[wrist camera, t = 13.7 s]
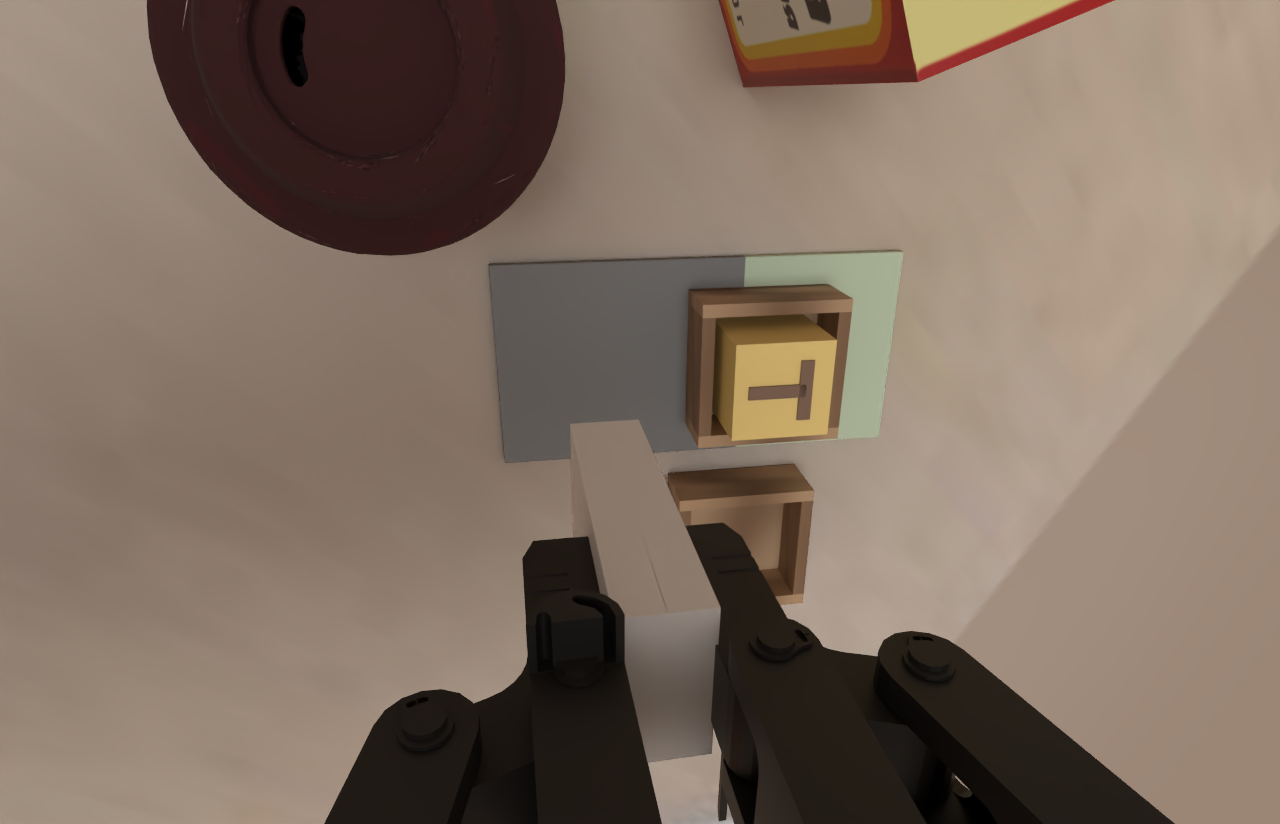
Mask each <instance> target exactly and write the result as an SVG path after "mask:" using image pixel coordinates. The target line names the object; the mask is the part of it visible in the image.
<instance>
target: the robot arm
mask: <svg viewBox="0 0 1280 824" xmlns="http://www.w3.org/2000/svg"><path fill="white" fill-rule="evenodd" d="M570 444H571V477H572V510H573V534H574V538H562V539H551V540H540V541H533V542H532V544H531V546H530V547H529V549H528V550H527V552H526V554H525V555H524V557H523V576H524V593H525V611H526V634H527V650H528V657H527V664H526V666H525V668H524V670H523V672H522V674H521V675H520V676H519V677H518V678H517V680H516V681H515V682H514V683H513V684H511V685H510V686H509V687H507V688H506V689H505V690H503V691H502V692H500V693H498V694H496V695H494V696H492V697H489V698H487V699H484V700H482V701H479V702H477V703H474V704H473V702H471V701H470V700H469V699H467V698H466V697H464V696H463V695H461V694H460V693H456V692H452V691H447V690H442V689H440V690H429V691H421V692H418V693H415V694H413V695H410V696H407V697H404V698H402V699H400V700H399V701H398V702H396V703H395V704H393V705H392V706H390V707H389V708H388V709H386V710H385V711H384V712H383V714H382V715H381V716H380V718H379V719H378V720H377V722H376V723H375V724H374V726H373V728H372V730H371V732H370V734H369V736H368V738H367V740H366V742H365V744H364V746H363V748H362V750H361V752H360V754H359V756H358V758H357V760H356V762H355V764H354V766H353V768H352V770H351V772H350V774H349V776H348V778H347V780H346V782H345V784H344V786H343V787H342V789H341V791H340V793H339V795H338V797H337V799H336V801H335V803H334V805H333V807H332V809H331V811H330V813H329V815H328V817H327V819H326V821H325V823H324V824H662V823H661V818H660V814H659V810H658V805H657V801H656V797H655V792H654V788H653V784H652V779H651V775H650V771H649V766H648V762H655V761H663V760H670V759H677V758H684V757H691V756H698V755H705V754H712V739H713V728H714V731H715V734H716V737H717V740H718V743H719V746H720V749H721V752H722V753H721V767H720V781H719V795H718V817H719V821H723V820H726V815H727V803H728V806H729V809H730V812H731V815H732V818H733V821H734V824H1174V823H1173V822H1172V821H1171V820H1170V819H1168V818H1167V817H1166V816H1165V815H1163V814H1162V813H1161V812H1160V811H1159V810H1157V809H1156V808H1155V807H1154V806H1152V805H1151V804H1150V803H1149V802H1148V801H1146V800H1145V799H1144V798H1143V797H1141V796H1140V795H1139V794H1138V793H1137V792H1136V791H1134V790H1133V789H1132V788H1131V787H1129V786H1128V785H1127V784H1126V783H1125V782H1123V781H1122V780H1121V779H1119V777H1117V776H1116V775H1115V774H1113V773H1112V772H1111V771H1110V770H1109V769H1108V768H1106V767H1105V766H1104V765H1103V764H1101V763H1100V762H1099V761H1098V760H1097V759H1095V758H1094V757H1093V756H1092V755H1091V754H1089V753H1088V752H1087V751H1085V750H1084V749H1083V748H1082V747H1081V746H1080V745H1078V744H1077V743H1076V742H1075V741H1073V740H1072V739H1071V738H1070V737H1069V736H1068V735H1066V734H1065V733H1064V732H1063V731H1061V730H1060V729H1059V728H1058V727H1056V726H1055V725H1054V724H1053V723H1052V722H1051V721H1049V720H1048V719H1047V718H1046V717H1044V716H1043V715H1042V714H1041V713H1039V712H1038V711H1037V710H1036V709H1035V708H1033V707H1032V706H1031V705H1030V704H1029V703H1027V702H1026V701H1025V700H1024V699H1022V698H1021V697H1020V696H1019V695H1018V694H1016V693H1015V692H1014V691H1013V690H1012V689H1010V688H1009V687H1008V686H1007V685H1006V684H1004V683H1003V682H1002V681H1001V680H1000V679H998V678H997V677H996V676H995V675H993V674H992V673H991V672H990V671H989V670H987V669H986V668H985V667H984V666H983V665H981V664H980V663H979V662H978V661H976V660H975V659H974V658H973V657H971V656H970V655H969V654H968V653H967V652H965V651H964V650H963V649H961V648H960V647H958V646H957V645H955V644H954V643H952V642H950V641H949V640H947V639H944V638H941V637H938V636H936V635H933V634H930V633H923V632H915V631H908V632H901V633H895V634H893V635H892V636H890V637H888V638H887V639H885V640H884V641H883V643H882V645H881V647H880V649H879V651H878V657H877V656H869V655H861V654H853V653H845V652H840V651H835V650H830V649H827V648H825V647H823V646H822V644H821V643H820V641H819V639H818V638H817V637H816V636H815V635H814V634H813V633H812V632H811V630H810V629H809V628H807V627H805V626H803V625H802V624H800V623H798V622H796V621H795V620H791V619H787V617H786V615H785V613H784V611H783V610H782V608H781V606H780V604H779V602H778V601H777V599H776V597H775V595H774V593H773V592H772V590H771V588H770V586H769V584H768V583H767V581H766V579H765V577H764V575H763V574H762V572H761V571H759V566H758V565H757V563H756V561H755V559H754V557H752V556H751V552H750V550H749V548H748V547H747V545H746V543H745V541H744V539H743V538H742V536H741V535H739V534H738V533H737V532H735V531H734V530H732V529H731V528H730V527H728V526H727V525H726V524H724V523H711V524H700V525H688V526H685V525H684V522H683V520H682V518H681V516H680V513H679V511H678V509H677V506H676V504H675V502H674V499H673V497H672V495H671V493H670V490H669V488H668V486H667V483H666V481H665V479H664V477H663V474H662V472H661V470H660V467H659V465H658V463H657V461H656V458H655V456H654V454H653V451H652V449H651V447H650V445H649V442H648V440H647V438H646V435H645V433H644V431H643V428H642V426H641V424H640V422H639V420H623V421H607V422H591V423H575V424H570ZM955 775H956V776H957V777H958V778H959V779H960V780H961V781H962V782H963V783H964V784H965V785H966V786H967V787H968V788H969V790H968V789H967V788H966V787H965V786H963V785H962V784H961V783H960V782H959V781H958V780H957V779H956V778H955Z"/></svg>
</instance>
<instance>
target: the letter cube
mask: <svg viewBox="0 0 1280 824" xmlns="http://www.w3.org/2000/svg"><path fill="white" fill-rule="evenodd" d="M836 346H837V340H836V339H835V338H834V337H832V336H831V335H830V334H829V333H827V332H826V331H825V330H823V329H822V328H821V327H819V326H818V325H817V324H815V323H814V322H813V321H811V320H810V319H809V318H808V317H806V316H805V315H804V314H791V315H769V316H746V317H723V318H716V324H715V349H714V373H713V397H712V410H713V412H714V414H715V415H716V417H717V418H718V420H719V422H720V423H721V425H722V426H723V428H724V430H725V431H726V433H727V434H728V436H729V437H730V439H731V441H738V440H753V439H767V438H781V437H795V436H809V435H824V434H827V431H828V422H829V412H830V403H831V393H832V384H833V375H834V365H835V356H836Z"/></svg>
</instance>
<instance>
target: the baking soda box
mask: <svg viewBox="0 0 1280 824" xmlns="http://www.w3.org/2000/svg"><path fill="white" fill-rule="evenodd" d="M1112 1H1114V0H719V3H720V6H721V10H722V13H723V17H724V20H725V24H726V27H727V31H728V34H729V38H730V41H731V45H732V48H733V52H734V55H735V59H736V62H737V66H738V69H739V73H740V76H741V80H742V83H743V87H762V86H796V85H831V84H865V83H900V82H919V81H922V80H924V79H926V78H929V77H931V76H934V75H936V74H938V73H941V72H943V71H946V70H948V69H950V68H953V67H955V66H958V65H960V64H962V63H965V62H967V61H970V60H972V59H975V58H977V57H979V56H982V55H984V54H987V53H989V52H991V51H994V50H996V49H999V48H1001V47H1003V46H1006V45H1008V44H1011V43H1013V42H1015V41H1018V40H1020V39H1023V38H1025V37H1027V36H1030V35H1032V34H1035V33H1037V32H1039V31H1042V30H1044V29H1047V28H1049V27H1051V26H1054V25H1056V24H1059V23H1061V22H1064V21H1066V20H1068V19H1071V18H1073V17H1076V16H1078V15H1080V14H1083V13H1085V12H1088V11H1090V10H1092V9H1095V8H1097V7H1100V6H1102V5H1104V4H1107V3H1109V2H1112Z"/></svg>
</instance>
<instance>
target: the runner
mask: <svg viewBox="0 0 1280 824" xmlns="http://www.w3.org/2000/svg"><path fill="white" fill-rule="evenodd" d="M902 260H903V251H900V250H893V251H863V252H833V253H803V254H773V255H743V256H712V257H682V258H652V259H622V260H592V261H562V262H532V263H502V264H489V273H490V285H491V298H492V310H493V322H494V335H495V347H496V359H497V371H498V384H499V396H500V408H501V421H502V433H503V445H504V458H505V463H512V462H527V461H541V460H555V459H569V458H571V444H570V424H575V423H591V422H607V421H623V420H639V422H640V424H641V426H642V428H643V431H644V433H645V435H646V438H647V440H648V442H649V445H650V447H651V449H652V451H653V453H654V452H669V451H683V450H697V449H711V448H725V447H740V446H754V445H768V444H782V443H796V442H811V441H825V440H839V439H853V438H867V437H878V435H879V428H880V421H881V413H882V406H883V399H884V391H885V384H886V377H887V369H888V362H889V355H890V348H891V340H892V333H893V326H894V318H895V311H896V304H897V296H898V289H899V282H900V274H901V267H902ZM808 284H829V285H831V286H833V287H834V288H836V289H838V290H839V291H841V292H843V293H844V294H846V295H848V296H849V297H851V298H853V307H852V316H851V325H850V334H849V342H848V351H847V360H846V369H845V377H844V386H843V395H842V403H841V412H840V421H839V430H838V438H837V439H824V440H809V441H795V442H780V443H766V444H751V445H737V446H722V447H708V448H698V447H697V445H696V443H695V441H694V439H693V437H692V435H691V433H690V431H689V429H688V428H687V426H686V424H685V408H686V369H687V331H688V292H689V289H702V288H728V287H755V286H781V285H808Z"/></svg>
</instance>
